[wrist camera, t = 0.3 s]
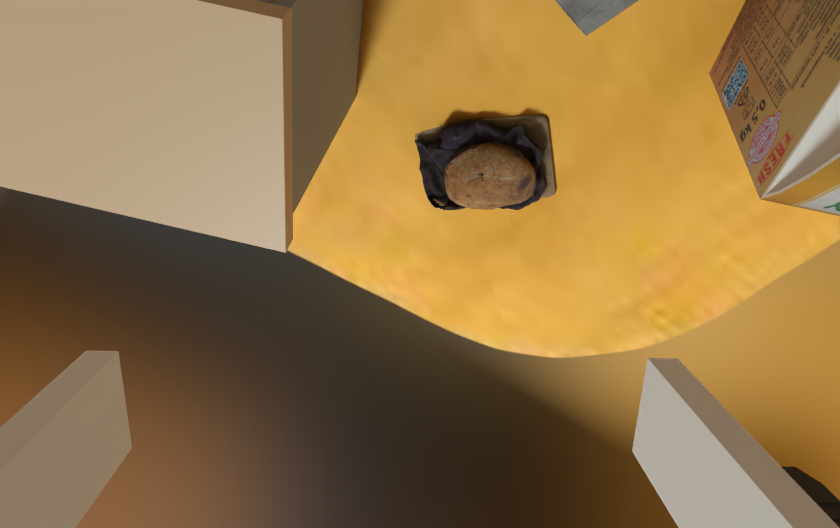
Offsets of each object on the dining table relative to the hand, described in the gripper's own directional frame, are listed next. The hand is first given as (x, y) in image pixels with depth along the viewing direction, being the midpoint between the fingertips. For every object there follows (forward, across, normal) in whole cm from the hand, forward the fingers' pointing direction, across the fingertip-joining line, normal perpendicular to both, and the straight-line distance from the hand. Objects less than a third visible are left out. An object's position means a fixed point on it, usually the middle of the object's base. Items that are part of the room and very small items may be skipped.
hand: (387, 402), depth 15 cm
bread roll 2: (+34, +7, +1) cm, 35 cm away
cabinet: (+32, -11, +13) cm, 36 cm away
